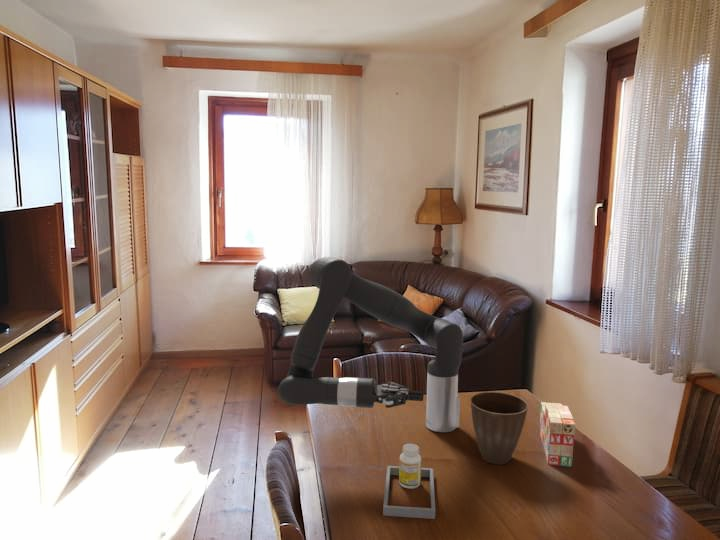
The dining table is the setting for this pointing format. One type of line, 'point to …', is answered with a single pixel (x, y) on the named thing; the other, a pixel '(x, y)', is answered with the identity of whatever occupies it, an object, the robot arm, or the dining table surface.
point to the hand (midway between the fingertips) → (423, 396)
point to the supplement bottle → (410, 467)
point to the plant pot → (497, 424)
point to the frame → (409, 511)
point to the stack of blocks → (557, 433)
